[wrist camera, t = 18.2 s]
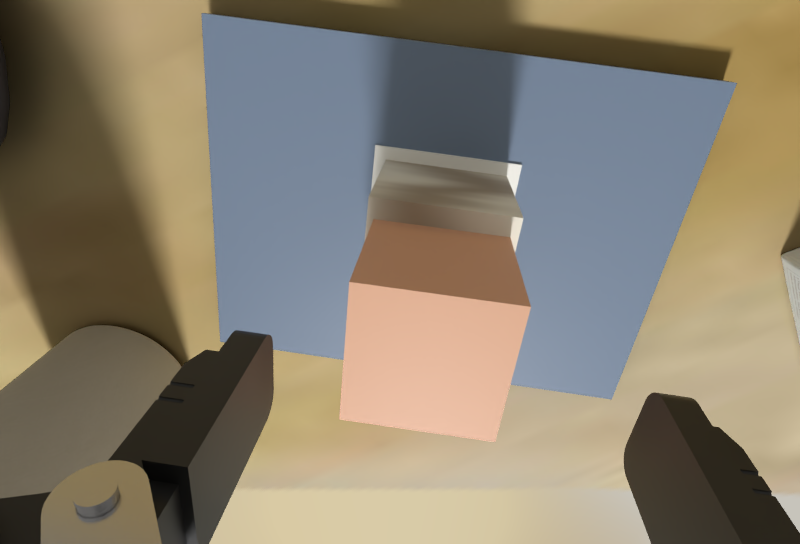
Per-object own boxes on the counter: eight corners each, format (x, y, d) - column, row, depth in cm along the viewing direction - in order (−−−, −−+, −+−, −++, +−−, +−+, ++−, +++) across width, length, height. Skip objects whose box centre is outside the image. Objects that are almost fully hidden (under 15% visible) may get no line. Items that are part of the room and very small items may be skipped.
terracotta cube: (510, 237, 16) (530, 306, 12) (484, 350, 18) (495, 441, 14) (373, 218, 16) (348, 282, 12) (363, 333, 18) (339, 419, 14)
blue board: (723, 80, 19) (738, 83, 18) (605, 386, 26) (612, 400, 25) (212, 13, 20) (200, 13, 19) (227, 331, 26) (219, 342, 25)
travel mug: (32, 364, 29) (-503, 800, 12) (116, 296, 26) (-424, 735, 10) (138, 451, 31) (-196, 909, 15) (224, 396, 28) (-68, 880, 12)
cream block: (506, 176, 20) (523, 218, 16) (479, 302, 23) (486, 368, 19) (385, 159, 20) (368, 196, 16) (372, 286, 23) (354, 348, 19)
